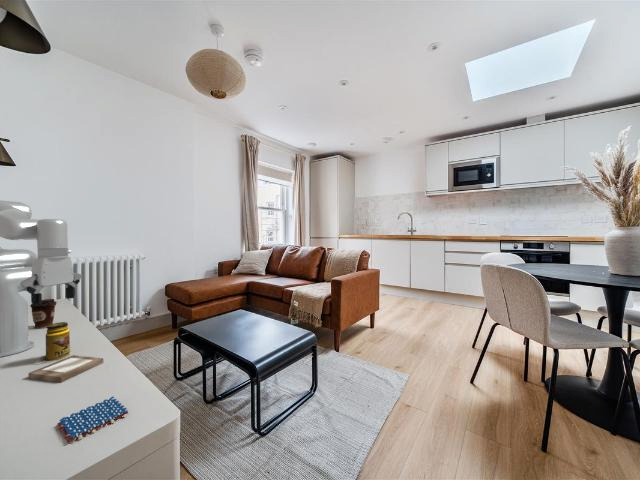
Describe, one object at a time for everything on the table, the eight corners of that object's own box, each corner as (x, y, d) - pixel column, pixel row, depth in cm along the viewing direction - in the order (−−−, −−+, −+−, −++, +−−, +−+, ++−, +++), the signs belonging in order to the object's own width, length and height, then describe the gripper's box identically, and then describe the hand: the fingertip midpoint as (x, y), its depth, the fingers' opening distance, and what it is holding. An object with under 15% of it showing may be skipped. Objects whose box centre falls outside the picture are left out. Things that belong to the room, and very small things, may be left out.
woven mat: (55, 427, 58) (55, 419, 58) (113, 402, 66) (113, 394, 66) (68, 448, 52) (68, 439, 52) (129, 417, 61) (129, 409, 61)
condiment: (68, 358, 90) (67, 325, 90) (33, 365, 86) (33, 329, 86) (73, 350, 96) (73, 319, 96) (41, 356, 92) (41, 323, 92)
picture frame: (28, 377, 78) (28, 372, 78) (73, 359, 89) (73, 354, 89) (61, 382, 75) (61, 376, 75) (103, 362, 87) (103, 357, 87)
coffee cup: (42, 330, 119) (41, 302, 119) (24, 330, 119) (24, 302, 119) (61, 323, 128) (60, 298, 128) (45, 323, 128) (44, 298, 128)
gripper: (72, 252, 100) (73, 295, 100) (11, 255, 83) (13, 307, 83) (88, 252, 98) (89, 296, 99) (29, 255, 81) (30, 308, 82)
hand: (54, 301), depth 91 cm, fingers open, 9 cm apart
